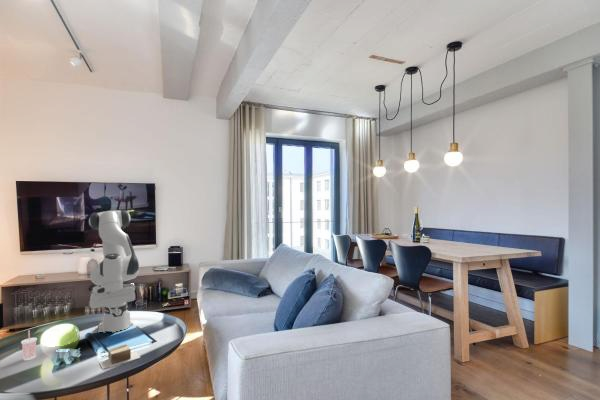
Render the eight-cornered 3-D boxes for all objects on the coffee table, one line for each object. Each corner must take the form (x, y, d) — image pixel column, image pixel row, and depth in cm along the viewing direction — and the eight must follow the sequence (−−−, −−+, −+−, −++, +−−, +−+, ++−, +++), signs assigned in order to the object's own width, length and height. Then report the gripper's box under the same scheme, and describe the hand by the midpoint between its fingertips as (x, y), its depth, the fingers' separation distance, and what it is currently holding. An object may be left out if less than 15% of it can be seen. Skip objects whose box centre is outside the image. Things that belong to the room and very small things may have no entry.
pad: (99, 362, 156) (99, 361, 156) (135, 351, 167) (135, 351, 167) (102, 369, 149) (102, 368, 149) (140, 357, 160) (140, 357, 160)
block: (108, 349, 159) (111, 354, 153) (126, 344, 164) (130, 349, 158) (108, 358, 159) (111, 364, 153) (126, 353, 164) (130, 358, 158)
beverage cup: (18, 361, 159) (17, 332, 159) (26, 356, 165) (25, 328, 165) (32, 360, 160) (32, 331, 160) (40, 354, 166) (39, 327, 166)
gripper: (133, 281, 176) (134, 306, 177) (88, 288, 163) (89, 316, 163) (136, 283, 172) (137, 309, 172) (91, 291, 158) (91, 319, 159)
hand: (113, 313), depth 168 cm, fingers closed
